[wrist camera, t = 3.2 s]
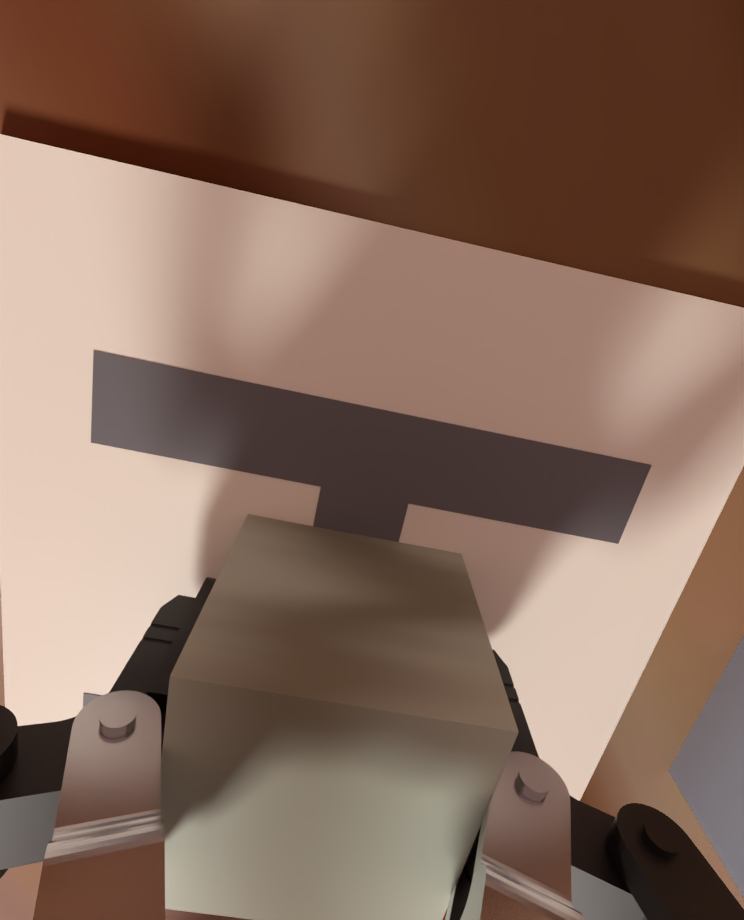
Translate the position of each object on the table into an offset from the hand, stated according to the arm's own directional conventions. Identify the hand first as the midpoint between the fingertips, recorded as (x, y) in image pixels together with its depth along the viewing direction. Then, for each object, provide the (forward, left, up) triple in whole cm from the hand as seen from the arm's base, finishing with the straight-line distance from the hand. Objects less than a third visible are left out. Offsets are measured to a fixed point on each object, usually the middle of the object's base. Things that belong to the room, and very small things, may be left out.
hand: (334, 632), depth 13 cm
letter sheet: (0, 0, -1) cm, 1 cm away
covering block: (0, 0, 0) cm, 0 cm away
